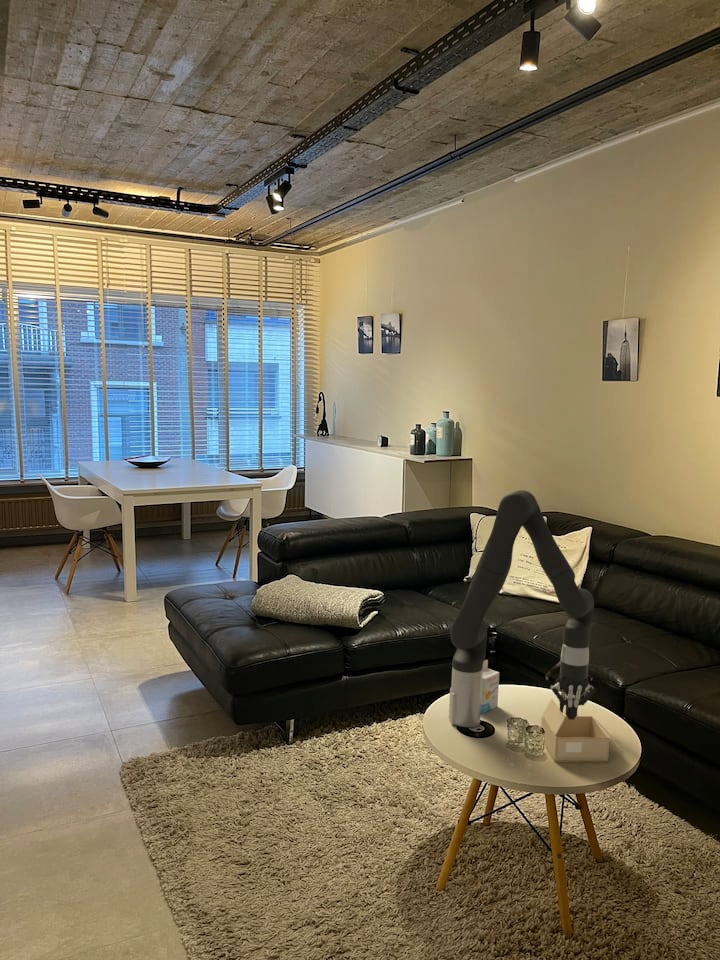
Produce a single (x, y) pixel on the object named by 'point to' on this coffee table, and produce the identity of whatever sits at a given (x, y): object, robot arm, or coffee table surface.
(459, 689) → the robot arm
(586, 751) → the carton
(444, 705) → the coffee table surface
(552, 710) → the flap
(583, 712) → the coffee table surface
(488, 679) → the ink box
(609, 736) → the flap
